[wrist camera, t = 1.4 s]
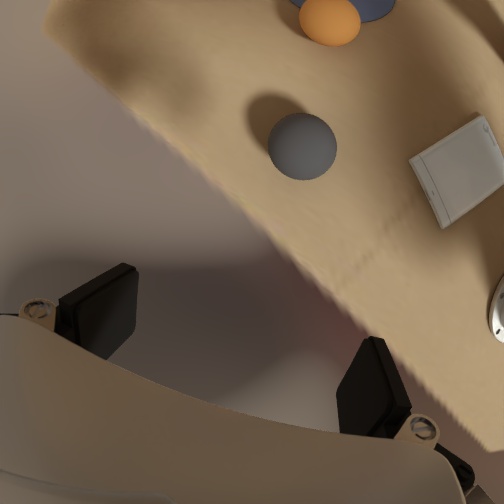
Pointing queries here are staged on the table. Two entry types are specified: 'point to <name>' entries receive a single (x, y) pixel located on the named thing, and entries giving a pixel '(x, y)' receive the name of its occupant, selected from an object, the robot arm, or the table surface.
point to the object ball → (330, 21)
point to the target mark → (365, 8)
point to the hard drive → (460, 170)
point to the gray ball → (302, 146)
